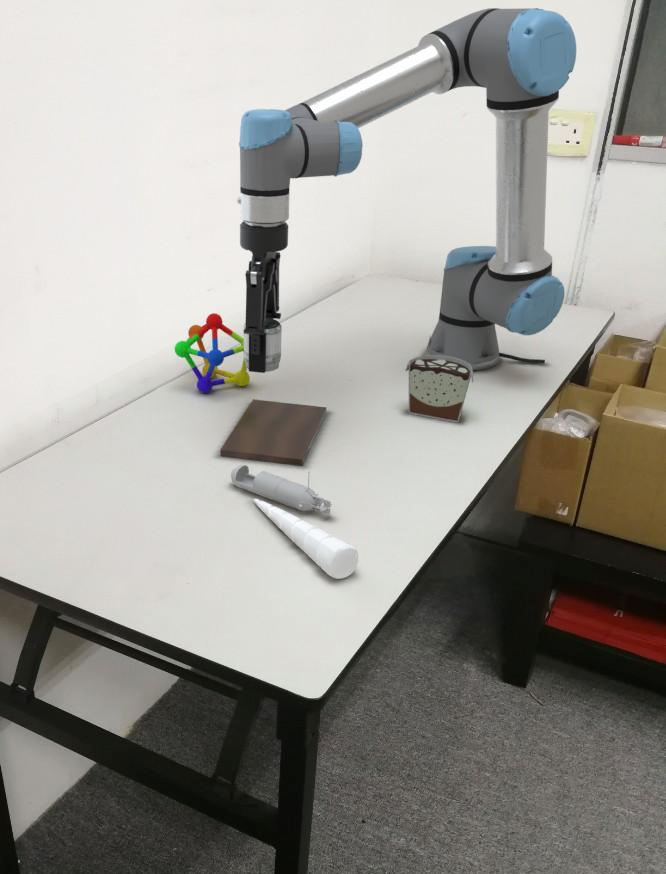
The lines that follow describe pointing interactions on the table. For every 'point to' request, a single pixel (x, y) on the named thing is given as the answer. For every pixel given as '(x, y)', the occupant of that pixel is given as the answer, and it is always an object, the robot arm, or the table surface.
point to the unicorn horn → (315, 542)
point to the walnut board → (275, 432)
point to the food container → (438, 386)
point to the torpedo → (279, 490)
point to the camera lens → (268, 344)
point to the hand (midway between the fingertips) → (262, 363)
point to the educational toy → (212, 355)
